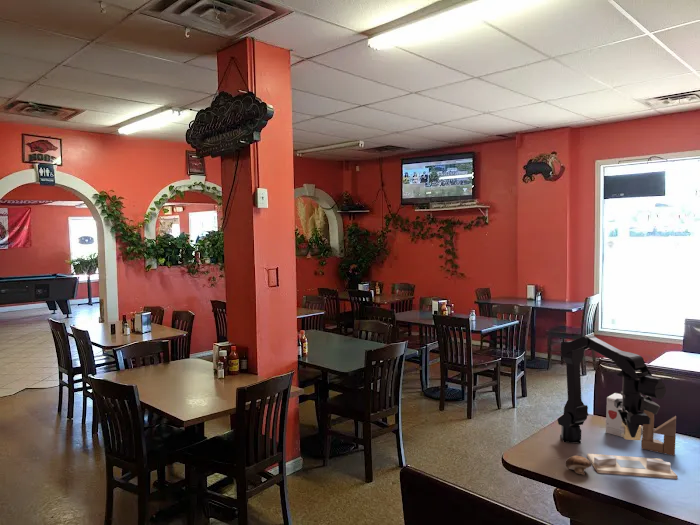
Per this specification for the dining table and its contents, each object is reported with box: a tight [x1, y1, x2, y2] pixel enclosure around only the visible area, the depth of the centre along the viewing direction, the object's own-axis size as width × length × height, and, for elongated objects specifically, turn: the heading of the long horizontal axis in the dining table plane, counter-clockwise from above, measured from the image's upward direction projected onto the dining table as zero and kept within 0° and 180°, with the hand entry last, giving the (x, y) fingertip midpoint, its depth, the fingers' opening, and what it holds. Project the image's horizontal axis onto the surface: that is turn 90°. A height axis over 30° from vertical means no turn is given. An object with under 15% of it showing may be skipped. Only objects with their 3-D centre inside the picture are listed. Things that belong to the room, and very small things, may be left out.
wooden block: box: [640, 410, 677, 457], centre depth 193 cm, size 4×11×18 cm, turn 55°
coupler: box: [620, 421, 643, 441], centre depth 180 cm, size 7×4×5 cm, turn 78°
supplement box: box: [605, 392, 623, 438], centre depth 210 cm, size 9×9×15 cm
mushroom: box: [565, 455, 592, 476], centre depth 177 cm, size 8×8×6 cm
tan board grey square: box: [586, 453, 678, 480], centre depth 181 cm, size 25×13×3 cm, turn 80°
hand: (630, 434), depth 180 cm, fingers closed on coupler, 4 cm apart
